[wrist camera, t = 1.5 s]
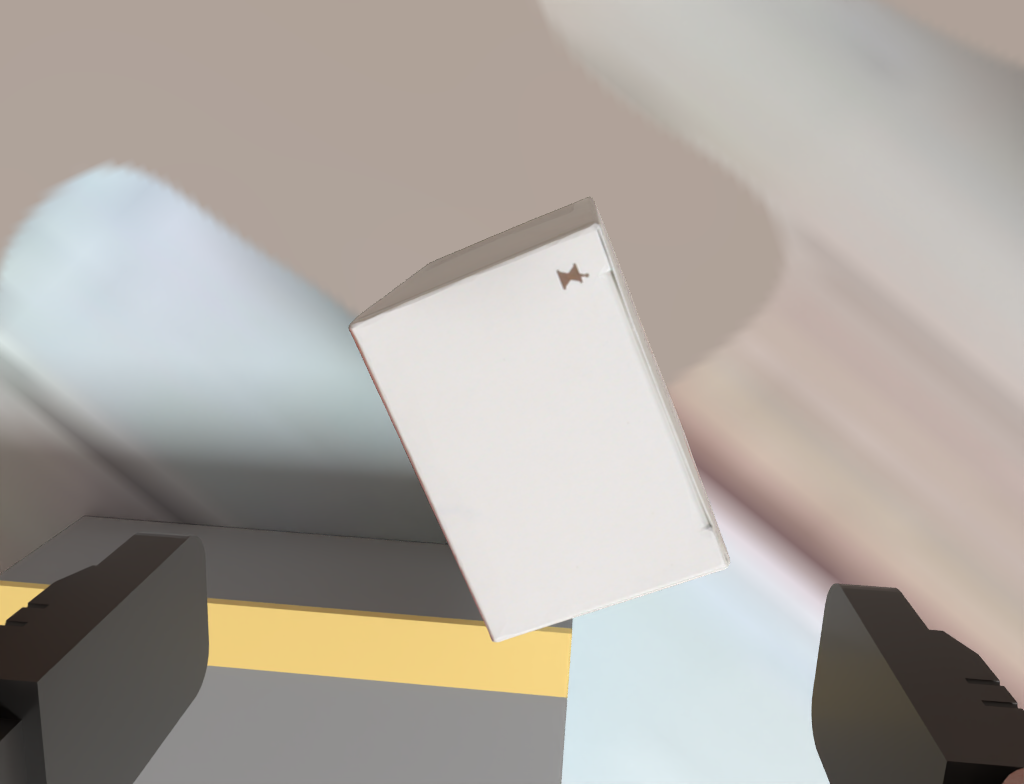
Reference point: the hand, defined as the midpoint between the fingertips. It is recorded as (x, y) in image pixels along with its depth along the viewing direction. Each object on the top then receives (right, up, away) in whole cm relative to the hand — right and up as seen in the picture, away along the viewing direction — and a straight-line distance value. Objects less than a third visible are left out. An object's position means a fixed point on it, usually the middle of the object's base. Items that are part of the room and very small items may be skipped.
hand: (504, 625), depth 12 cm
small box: (+2, +4, +17) cm, 18 cm away
